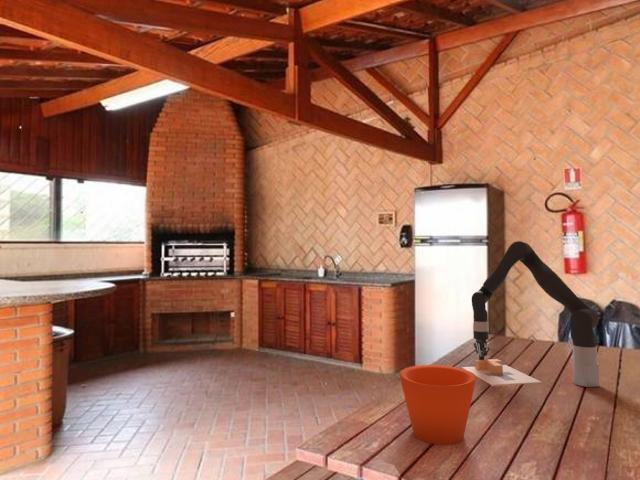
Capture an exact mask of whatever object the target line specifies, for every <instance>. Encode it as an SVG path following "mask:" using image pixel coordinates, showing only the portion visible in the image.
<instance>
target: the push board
mask: <svg viewBox="0 0 640 480" xmlns="http://www.w3.org/2000/svg"><path fill="white" fill-rule="evenodd" d="M502 365H503V374H494V373H492V372H490V371H488V370H478V369H476V368H475V366H461V369H464V370H467V371H470V372H472V373H473V374H475V375H476V378H479V379H481V380H482V381H484V382H485V383H487V384H489V387H497V386H498V387H499V386H516V385H517V386H518V385H529V384H530V385H531V384H534V383H535V384H542V381H541V380H539V379H536V378H535V377H532V376H530V375H527V374H526V373H524V372H521V371H519V370H517V369H515V368H513V367H510V366H509V365H507V364H502Z"/></svg>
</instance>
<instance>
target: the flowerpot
mask: <svg viewBox="0 0 640 480" xmlns="http://www.w3.org/2000/svg"><path fill="white" fill-rule="evenodd" d="M398 375H399V379H400V384H401V387H402V392H403V395H404V400H405V404H406V409H407V412H408V416H409V420H410V425H411V427H412V431H413V435H414V437H415V438H417V439H418V440H420V441H422V442H424V443H428V444H431V445H437V446H448V445H449V446H450V445H455V444H458V443H460V442H462V441H463V440H464V437H465V432H466V429H467V428H466V427H467V423H468V418H469V415H470V409H471V404H472V399H473V395H474V392H475V390H474V389H475V386H476V381H477V376H476V375H475V374H473V373H472V372H470V371H467V370H465V369H464V368H462V367H461V368H460V367H454V366H449V365H440V364H439V365H438V364H422V365H413V366H408V367H405V368H403V369H401V370H400V371H399V374H398Z"/></svg>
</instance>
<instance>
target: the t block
mask: <svg viewBox="0 0 640 480" xmlns="http://www.w3.org/2000/svg"><path fill="white" fill-rule="evenodd" d="M474 365H475V368H476V369H478V370H488V371H490V372H492V373H494V374H503V365H504V364H503V362H502V360H500V359H498V358H494V359H493V358H492V359H490V358H489V359H484V360H479V359H475V360H474Z"/></svg>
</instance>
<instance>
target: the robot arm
mask: <svg viewBox="0 0 640 480" xmlns="http://www.w3.org/2000/svg"><path fill="white" fill-rule="evenodd" d="M519 261H520V262H521V263H522V264H523V265H524V266H525V267H526V268H527V270H529V271H530V273H531V274H532V276H533V278H534V279H535V280H534V281H536V283H537V285H538V286H539V287H540V288H541V289H542V290H543V292H544V293H545V294H546V295H548V296H549V297H550V298H551V299H553V300H555V301H556V302H558V303H559V304H561V305H562V306H563V307H565V308H566V309H567V310H568V311H569V312H570V316H569V332H570V338H571V341H572V367H573V369H572V370H573V371H572V372H573V384H575V385H577V386H581V387H584V388H585V387H586V388H596V387H597V388H599V387H600V370H599V369H600V368H599V364H598V360H597V359H598V352H597V348H598V345H597V340H596V338H595V337H594V328H596V327H597V326H598V324H599V316H598V314H597V313H596V312H595V311H594V310H593V309H592V308H590V306H588V305H587V304H586V303H585V302H584V301H582V300H581V299H580V298H579V297H578V295H576V294H575V292H574V291H573V290H572V289H571V288H570V287H569V286H568V285H567V284H566V283H565V281H564V280H563V279H562V278H561V277H560V276H559V275H558V274H557V273H556V272H555V271H554V270H553V269H552V268H550V267H549V266H548V265H547V264H546V263H545V262H543V260H542V259H541V258H540V257H539V255H538V254H537V253H536V252H535V251H534V249H533V247H531V245H529V244H528V243H527V242H525V241H522V240H521V241H520V240H516V241H513V242H512V243H511V244H510V245H509V247H508V248H507V250H506V251H505V253H504V255H503V257H502V258H501V260H500V261H499V263H498V264H497V266H496V267H495V268H494V270H493V271H492V272H491V273H490V275H488V276H487V278H486V279H485V280H484V282H483V283H482V286H481V287H480V289H478V291H475V292H474V293H473V294H472V295H471V308H472V311H473V317H472V318H473V322H472V323H473V325H472V330H473V333H472V334H473V339H474V340H475V342H474V343H473V346H474V347H473V348H474V349H475V353H476V354H477V356H478V360H485V357H487V355H488V353H489V351H490V346H489V347H488V345H487V343H488V342H487V340H489V337H490V336H489V335H490V332H489V329H490V328H489V317H488V314H489V313H488V311H487V310H486V307H487V306H486V304H487V303H488V301H489V300H490V299H491V297H492V296H493V295H494V293H495V292H496V291H497V290H498V289H499V288H500V286H501V285H502V284H503V283H504V281H505V280H506V278H507V276H508V274H509V271H511V269H512V268H513V266H514V265H515V264H517V263H518V262H519Z"/></svg>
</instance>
